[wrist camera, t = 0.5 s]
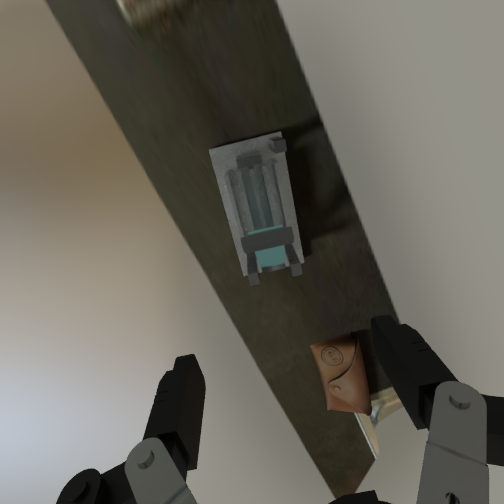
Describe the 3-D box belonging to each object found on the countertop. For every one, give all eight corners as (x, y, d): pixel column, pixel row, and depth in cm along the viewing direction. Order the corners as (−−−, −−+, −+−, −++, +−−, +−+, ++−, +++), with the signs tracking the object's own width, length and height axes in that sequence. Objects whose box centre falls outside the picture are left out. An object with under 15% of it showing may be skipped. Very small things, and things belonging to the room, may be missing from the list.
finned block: (209, 148, 37) (201, 155, 29) (279, 131, 37) (290, 133, 29) (243, 271, 44) (244, 303, 37) (302, 258, 44) (315, 287, 36)
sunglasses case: (306, 344, 50) (335, 364, 45) (334, 322, 53) (365, 338, 48) (327, 412, 58) (354, 437, 52) (350, 389, 60) (379, 410, 55)
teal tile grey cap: (238, 229, 25) (242, 249, 25) (289, 217, 25) (294, 237, 24) (255, 265, 38) (258, 278, 38) (288, 257, 38) (291, 270, 38)
